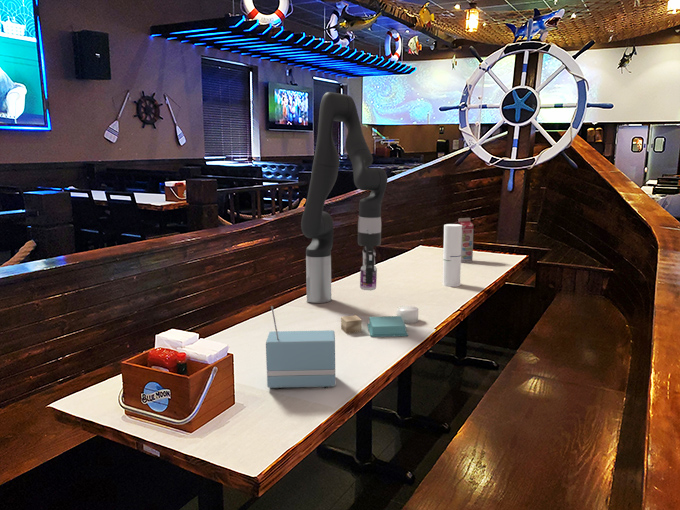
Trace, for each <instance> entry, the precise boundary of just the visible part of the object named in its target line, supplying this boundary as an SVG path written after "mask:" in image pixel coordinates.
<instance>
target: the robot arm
mask: <svg viewBox="0 0 680 510" xmlns="http://www.w3.org/2000/svg"><path fill="white" fill-rule="evenodd" d="M318 111H319V114H318V126H317V138H316V145H315V150H314V155H313V161H312V167H311V176H310V181H309V187H308V191H307V197H306V202H305V206H304V210H303V213H302V217H301V222H300V226H301V227H300V229H301V232H302V234H303V235H304V237H306V238H308V239H311V242H310V244H309V245H308V246H307V247H306V248H305V266H306V267H305V271H306V272H305V274H306V277H305V279H306V281H305V283H306V302H307V303H313V304H325V303H328V302H331V301H332V254H331V253H332V249H333V245H334V220H333V218H332V216H331V214H329V212H327V211H324V207H325V204H326V203H325V202H326V200H327V198H328V196H329V194H330V193H331V191H332V190H333V187H334V186H335V184H336V181H337V178H338V175H339V173H338V172H339V168H340V163H341V160H340V156H339V152H338V150H337V149H338V148H337V147H336V145H335V141H334V137H333V127H334V126H333V125H334V122H338V123H339V122H340V123H343V124H344V125H345V127H346V128H347V135H346V138H345V151H346V153H347V155H348V158H349V160H350V163H351V165H352V166H351V167H352V174H353V183H354V185H355V187H356V188H357V189H358V190H360V191H371V192H370V194H369V195H368V196H367V197H363V198H361V199H359V204H358V221H357V244H358V246H360V247H363V249H362V261H363V260H364V265H365V266H366V270H365V271H366V284H372V283H373V272H374V266H376V258H375V257H376V256H377V255H376V254H377V253H376V250H375V249H374V247H379V246H381V244H382V217H381V216H382V215H381V214H382V202H383V199H384V196H385V191H386V189H387V184H388V174H387V172H386V171H385V169H383V168H381V167H370V166H371V165H372V164H373V162H374V159H373V154H372V152H371V150H370V148H369V145H368V144H367V141H366V139H365V137H364V134H363V130H362V125H361V121H360V118H359V114H358V110H357V105H356V103H355V101H354V99H353V96H350V95H348V94H345V93H338V92H332V91H326V92H325V93H324V94H323V95H322V97H321V101H320V104H319V110H318ZM368 266H372V268H368Z"/></svg>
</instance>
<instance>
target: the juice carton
mask: <svg viewBox="0 0 680 510" xmlns="http://www.w3.org/2000/svg"><path fill="white" fill-rule="evenodd" d="M455 224H459V225H462V240H461V264H463V263H473V254H474V253H473V251H474V224H473V222H472V221H471V217H460V218H458V221H457V222H455Z"/></svg>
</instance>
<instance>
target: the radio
mask: <svg viewBox="0 0 680 510" xmlns="http://www.w3.org/2000/svg"><path fill="white" fill-rule="evenodd" d="M270 308H271V312H272V318H273V323H274V329H275V331H272V330H271V331H269V332H268V335H267V338H266V342H265V356H266V357H265V358H266V361H265V362H266V385H267V388H270V389H271V388H273V389H275V390H280V389H281V388H316V387H318V388H321V387H322V388H324V389H328V388H329V387H335V386H336V376H337V375H336V335H335V333H336V332H335V330H331V329H329V330H327V329H326V330H286V331H285V330H282V331H280V330H279V331H278V329H277V323H276V318H275V317H276V316H275V311H274V306H272V305H271V306H270Z"/></svg>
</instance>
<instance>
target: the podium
mask: <svg viewBox="0 0 680 510" xmlns="http://www.w3.org/2000/svg"><path fill="white" fill-rule="evenodd" d="M368 322H369V323H367V329H368V332H369V336H370V338H383V337H385V338H387V337H388V338H389V337H408V336H409V334H408V332H407V329H406V328H407V326H406V323H404V322H403V320H402V318H401V316H397V315H390V316H384V315H383V316H369V321H368Z"/></svg>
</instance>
